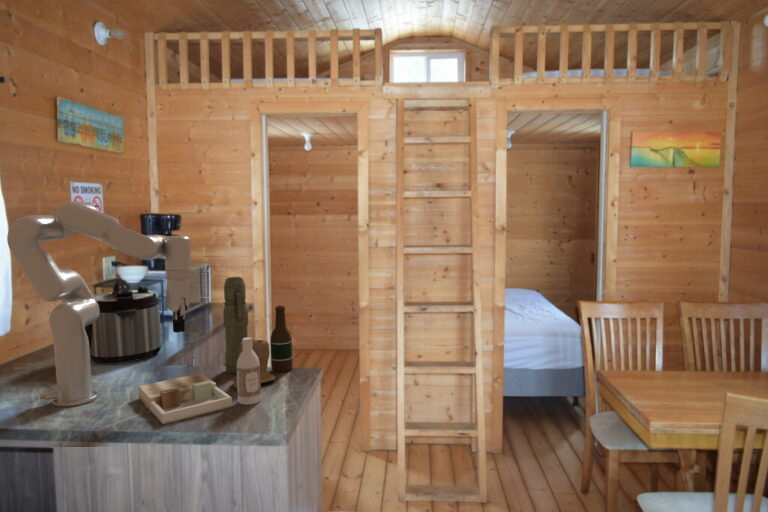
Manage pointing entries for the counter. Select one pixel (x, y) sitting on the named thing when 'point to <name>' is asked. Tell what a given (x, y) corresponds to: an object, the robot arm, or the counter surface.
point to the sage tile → (201, 391)
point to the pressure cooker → (125, 326)
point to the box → (192, 407)
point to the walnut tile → (170, 398)
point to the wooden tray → (184, 384)
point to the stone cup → (263, 355)
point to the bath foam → (248, 375)
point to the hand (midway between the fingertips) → (178, 331)
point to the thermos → (234, 320)
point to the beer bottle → (281, 344)
